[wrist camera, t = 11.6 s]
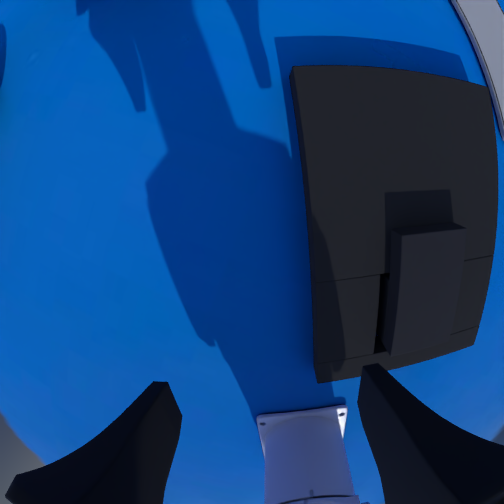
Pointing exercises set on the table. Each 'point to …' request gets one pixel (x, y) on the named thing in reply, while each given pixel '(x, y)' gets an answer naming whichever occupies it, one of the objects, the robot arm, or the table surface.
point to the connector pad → (420, 287)
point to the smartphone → (487, 45)
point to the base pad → (389, 197)
